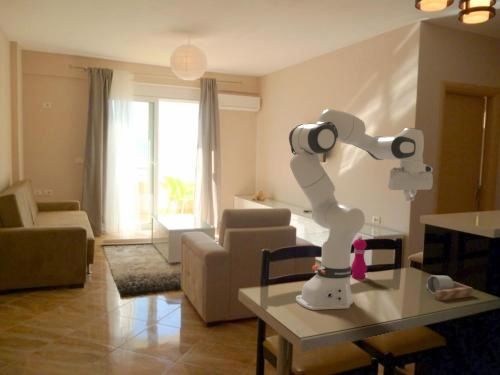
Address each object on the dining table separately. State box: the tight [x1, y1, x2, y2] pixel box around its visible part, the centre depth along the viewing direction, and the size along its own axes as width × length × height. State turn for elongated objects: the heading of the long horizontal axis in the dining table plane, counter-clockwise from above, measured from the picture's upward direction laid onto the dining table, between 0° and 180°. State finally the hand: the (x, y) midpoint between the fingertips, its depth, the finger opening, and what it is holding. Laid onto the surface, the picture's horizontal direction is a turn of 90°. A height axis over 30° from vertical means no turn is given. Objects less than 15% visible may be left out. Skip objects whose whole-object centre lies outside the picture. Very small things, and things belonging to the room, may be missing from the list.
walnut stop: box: [434, 280, 474, 301], centre depth 173 cm, size 18×12×4 cm, turn 110°
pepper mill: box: [350, 235, 368, 280], centre depth 194 cm, size 7×7×20 cm
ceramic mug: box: [426, 274, 454, 295], centre depth 175 cm, size 11×8×8 cm
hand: (409, 200), depth 172 cm, fingers closed
